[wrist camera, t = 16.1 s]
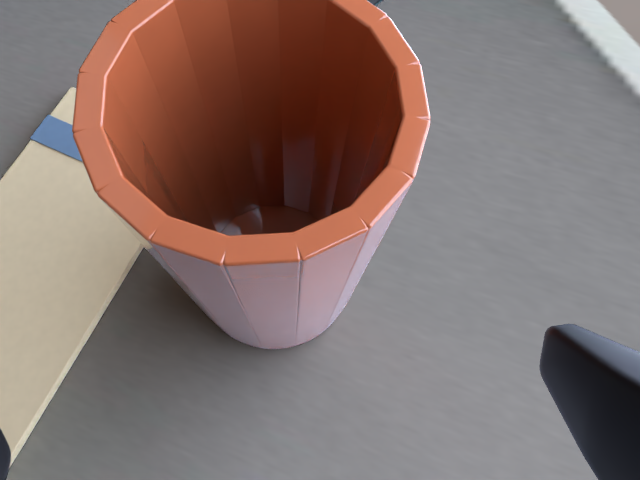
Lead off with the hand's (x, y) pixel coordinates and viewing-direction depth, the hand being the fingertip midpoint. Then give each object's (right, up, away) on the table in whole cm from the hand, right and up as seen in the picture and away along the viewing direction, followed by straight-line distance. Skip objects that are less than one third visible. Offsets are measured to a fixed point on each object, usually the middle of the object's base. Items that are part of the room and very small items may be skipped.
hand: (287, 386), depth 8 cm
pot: (-1, +1, +13) cm, 13 cm away
